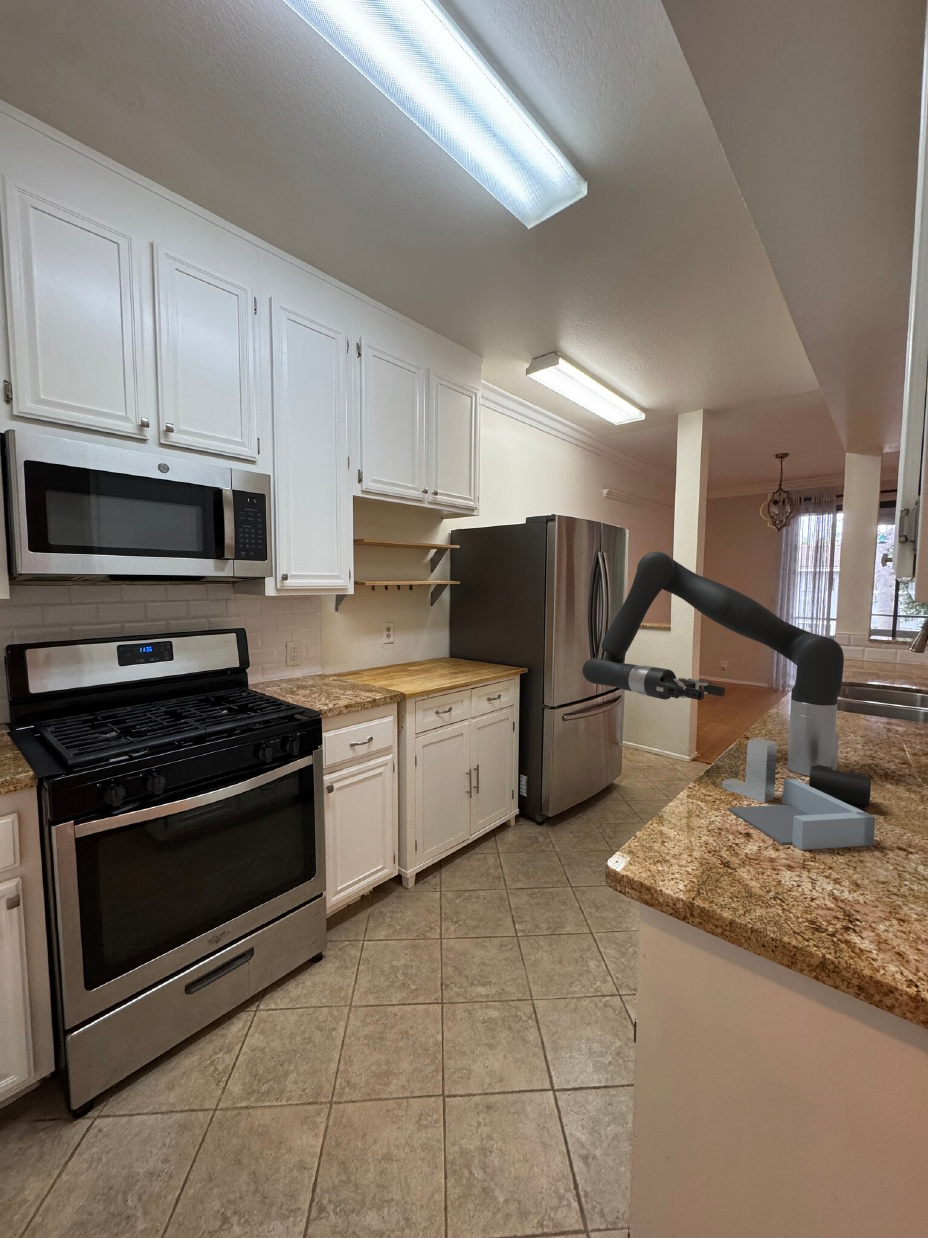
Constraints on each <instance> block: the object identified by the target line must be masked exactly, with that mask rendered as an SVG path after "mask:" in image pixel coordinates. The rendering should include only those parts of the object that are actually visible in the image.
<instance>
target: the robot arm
mask: <svg viewBox="0 0 928 1238" xmlns="http://www.w3.org/2000/svg"><path fill="white" fill-rule="evenodd" d="M662 590H664V591H665V592H668V593H669V594H672V595H674V596H676V597H678V598H680V599H682V600H683V601H684V602H686V603H688V604H689V605H690V606H692V607H693V608H694V609H695V610H697V611H698V612H699V613H701V614H703V615H704V616H705V617H707V618H708V619H709V620H711V621H713V622H715V623H717V624H718V625H720V626H722V627H724V628H726V629H728V630H729V631H732V632H734V633H736V634H738V635H741V636H742V637H745V638H747V639H750V640H753V641H755V642H757V643H761V644H762V645H765V646H767V647H769V648H770V649H772V650H774V651H775V652H776V653H778V654H780V655H781V656H783V657H784V658H785V659H787V660H789V661H790V662H791V663H793V664H794V665H796V675H795V683H794V685H793V686H792V689H791V691H790V692H791V694H790V708H789V709H790V710H789V711H790V713H789V726H788V727H789V729H788V732H789V733H788V746H787V764H786V766H787V769H788V770H790V771H791V772H794V773H796V774H800V775H803V776H808V777H810V769H811V766H815V765H822V766H827V767H828V766H829V767H832V770H836V771H838V755H839V743H840V742H839V739H840V738H839V737H840V736H839V734H836V732H837V731H836V728H837V712H838V711H837V710H838V699H839V696H840V694H841V691H842V684H843V676H844V675H843V674H844V666H845V665H844V664H845V663H844V662H845V659H844V657H845V655H844V650H843V649H842V648H843V647H841V645H840V643H838V642H837V641H836V640H834V639H832V638H831V637H829V636H824V635H821V634H820V635H819V634H815V633H813V632H811V631H808V630H805V629H802V628H800V627H798V626H796V625H793V624H791V623H789V622H787V621H785V620H784V619H782V618H780V617H779V616H777V615H776V614H775V613H774V612H772V611H771V610H769V609H768V608H766V607H765V606H764V605H762V604H760V603H759V602H758V601H756V600H755V599H753V598H751V597H749V596H747V595H745V594H743V593H741V592H739V591H737V590H736V589H734V588H731V587H729V586H727V585H725V584H722V583H721V582H718V581H715V580H713V579H710V578H708V577H704V576H701V575H699V574H698V573H695V572H694V571H692V570H690V569H689V568H686V566H683V565H682V564H681V563H679V562H678V561H676V560H675V559H673V558H672V557H670V556H669V555H668V554H667V553H666V552H665V553H664V552H662V551H652V552H648V553H646V554H645V555H643V556H642V557H641V559H639V561H638V564H637V567H636V572H635V575H634V579H633V581H632V585H631V588H630V590H629V591H628V594H627V596H626V599H625V600H624V602H623V603H622V605H621V607H620V609H619V611H618V613H617V614H616V616H615V617H614V619H613V620H612V622H611V624H610V626H609V628H608V630H607V632H606V634H605V636H604V638H603V640H602V642H601V648H602V650H603V651H604V652H605V656H604V659H603V658H597V657H593V658H590V659H588V660H586V661H585V663H584V664H583V666H582V670H581V671H582V675H583V677H584V679H585V680H586V681H587V682H589V683H590V684H594V685H595V684H596V685H600V686H608V687H615V688H618V689H621V690H624V691H629V692H633V693H636V694H638V695H642V696H646V697H650V698H654V699H660V700H662V701H663V700H664V701H665V700H669V699H671V698H674V699H680V698H682V699H685V698H686V699H693V700H697V701H703V700H704V699H705V695H710V696H711V695H712V696H717V697H725V696H726V695H725V692H726V689H725V687H724V686H720V685H715V684H714V685H713V684H712V683H713V682H711V681H705V680H698V679H694V678H686V677H685V678H684V677H678V678H677V676H676V674H675V672H674V671H673V670H672V669H668V668H663V667H655V666H649V665H638V664H632V663H625V660H626V655H627V654H626V653H627V652H628V650H629V648H630V647H631V645H632V643H633V641H634V640H635V637H636V635H637V634H638V631H639V629H640V628H641V625H642V623H643V621H644V619H645V616H646V614H647V613H648V610H649V609H650V608H651V606H652V603H653V602H654V600H655V599H656V598H657V596H658V595H659V594H660V592H661V591H662ZM703 687H704V688H703Z"/></svg>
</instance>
